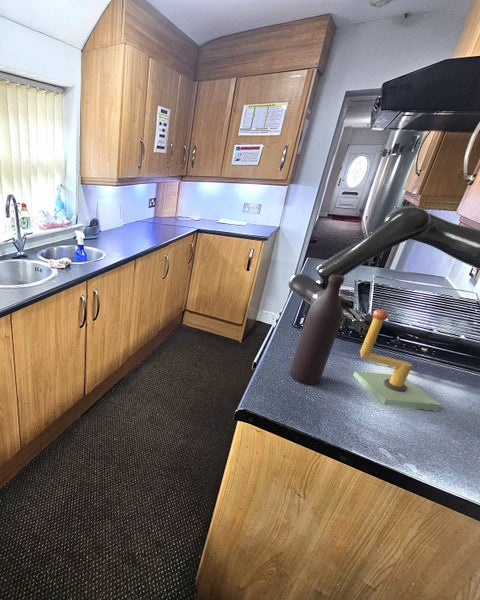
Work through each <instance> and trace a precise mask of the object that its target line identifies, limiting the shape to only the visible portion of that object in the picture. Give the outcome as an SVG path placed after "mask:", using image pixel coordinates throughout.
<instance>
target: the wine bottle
mask: <svg viewBox="0 0 480 600" xmlns="http://www.w3.org/2000/svg"><path fill="white" fill-rule="evenodd" d="M328 281H329V284H328V287H327V289H326V291H325V293H324V294H323V295H322V296H321V297H320V298H318V299H317V300H316V301H315V302H314V303H313V304H312V306H311V305H310V306H309V307H310V308H309V309H308V312H307V314H306V316H305V321H304V323H303V327H302V330H301V333H300V337H299V340H298V343H297V347H296V349H295V353H294V356H293V360H292V363H291V366H290V370H289V376H290V378H291V379H293V380H294V381H295V382H298V383H299V384H302V385H306V386H317V385H318V384H319V383H320V382H321V379H322V377H323V374H324V371H325V369H326V365H327V363H328V359H329V357H330V354H331V351H332V349H333V346H334V343H335V340H336V338H337V334H338V331H339V329H340V327H341V326H340V323H341V320H342V314H343V310H342V305H341V302H340V299H339V296H340V291H341V287H342V284H344V282H345V275H344V276H342V275H337V274H332V275H331V276H330V277H329V280H328Z"/></svg>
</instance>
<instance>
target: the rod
mask: <svg viewBox="0 0 480 600" xmlns="http://www.w3.org/2000/svg"><path fill="white" fill-rule="evenodd" d="M372 315H373V317H372V319H371V322H370V324H369V327H370V328H369V330H368V333H367V335H365V338H364V340H363V342H362V346H361V348H360V350H359V355H360V359H362V360H366V361H369V362H374V363H378V364H382V365H385V366H388V367H389V366H390V367H393V368H394V370H393V373H391V375H392V377H391V379H390V381H389V383H390V384H392V385H394V386H397V387H402V386H403V384H404V382H405V380H406V379H408V376H409V374H410V372H411V370H412V368H413V364H412V363H410V362H408V361H405V360H401V359H397V358H393V357H389V356H384V355H380V354H377V353H373V352H372V350H373V348H374V345H375V343H376V340H377V338H378V335H379V333H380V331H381V328H382V326H383V324H384V321H385V320H387V319H388V317H389V313H388V312H387V311H386V310H384V309H376V310H374V311H373V313H372Z"/></svg>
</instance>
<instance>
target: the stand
mask: <svg viewBox="0 0 480 600" xmlns="http://www.w3.org/2000/svg"><path fill="white" fill-rule="evenodd" d="M352 376H353V377H354V378H355V379H356V380H357V381H358V382H359V383H360V384H361V385H362V386H363V387H364V388H365V389H366V390H367V391H368V392H369V393H370V394H371V395H372V396H373V397H374V398H375V399H376V400H377V401H378V402H379V403H380V404H382V405H383V406H392V407H403V408H415V409H416V408H417V409H416V410H420V409H427V410H426V411H430V410H437V411H439V408H440V407H441V403H439V402H438V401H436V400H435V399H434V398H433V397H431V396H430V395H429V394H428V393H426V392H425V391H424V390H422V389H421V388H419V387H418V386H417V385H415V384H414V383H413V381H411V380H409V379H408V378H406V380H405V382H404V384H403V386H402V387H397V386H394V385H392V384H390V383H389V381H390V379H391V377H392V373H389V374H388V373H378V372H367V371H357V370H355V371H354V372H353V375H352Z"/></svg>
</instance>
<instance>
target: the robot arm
mask: <svg viewBox="0 0 480 600" xmlns="http://www.w3.org/2000/svg"><path fill="white" fill-rule="evenodd" d="M408 240H412V241H415V242H419V243H422V244H425V245H428V246H430V247H432V248H435V249H437V250H439V251H441V252H442V253H444V254H446V255H447V256H449V257H451V258H453V259H455V260H457V261H460V262H461V263H463V264H465V265H468V266H470V267H473V268H475V269H478V270H480V229H478V228H474V227H469V226H466V225H461V224H457V223H455V222H451V221H448V220H446V219H443V218H441V217H439V216H436V215H435V214H433V213H430V212H428V211H427V210H425V209H424V208H421V207H420V206H415V205H404V206H403V205H401V206H399V207H396V208H394V209H393V210H391V211H389V213H387V215H386V216H385V218H384V222H383V223H382V224H381V225H380V226H379V227H377V228H376V229H375V230H374V231H372V232H371V233H369V235H367V236H365V237H364V238H363V239H361V240H359V241H357V242H356V243H353V244H352V245H350V246H348V247H346V248H345V249H343V250H341V251H339V252H338V253H336V254H334V255H333V256H331V257H329V258H328V259H327V260H325V261H324V262H322V263H321V264H319V265H318V266H316V269H315V272H316V274H317V276H319V278H318V280H317V281H316V280H315V279H314V278H312V277H311V276H309V275H308V274H306V273H298V274H295V275H293V276H291V278H290V279H289V281H288V287H289V289H290V291H292V292H293V293H294V294H295V295H297V296H298V297H299V298H300V299H301V300H303V301H305V302H306V303H307V304H308V305H309V306H310V307H311V306H312V304H313V303H314V302H315V301H316V300H317V299H318V298H320V297H321V296H322V295H323V294H324V293H325V291H326V289H327V287H328V284H329V281H328V280H329V277H330V276H331V275H332V274H337V275H342V276H344V277H345V276H346V275H347V274H350V273H351V272H352V271H354V270H356V269H357V268H358V267H360V266H361V265H364V264H365V263H366V262H368V261H370V260H371V259H373V258H375V257H377V256H378V255H380V254H382V253H384V252H385V251H387V250H389V249H391V248H393V247H396V246H397V245H400V244H402V243H404V242H406V241H408ZM339 299H340V302H341V305H342V310H343V314H342V320H341V323H340V326H339V327H342V328H346V327H348V328H349V329H350V330H351V329H352V330H355V331H356V332H358V333H359V334H360V335H365V336H366V335H367V333H368V330H369V328H370V325H371V322H372V320H373V318H374V317H373V314H370V313H367V314H364V315H363V314H361V313H360V312H359V311H358V310H355V309H354V307H353V304H352V303H351V302H350V301H349V300H348V299H346V298H344V297H342V296H341V295H339Z"/></svg>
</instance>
